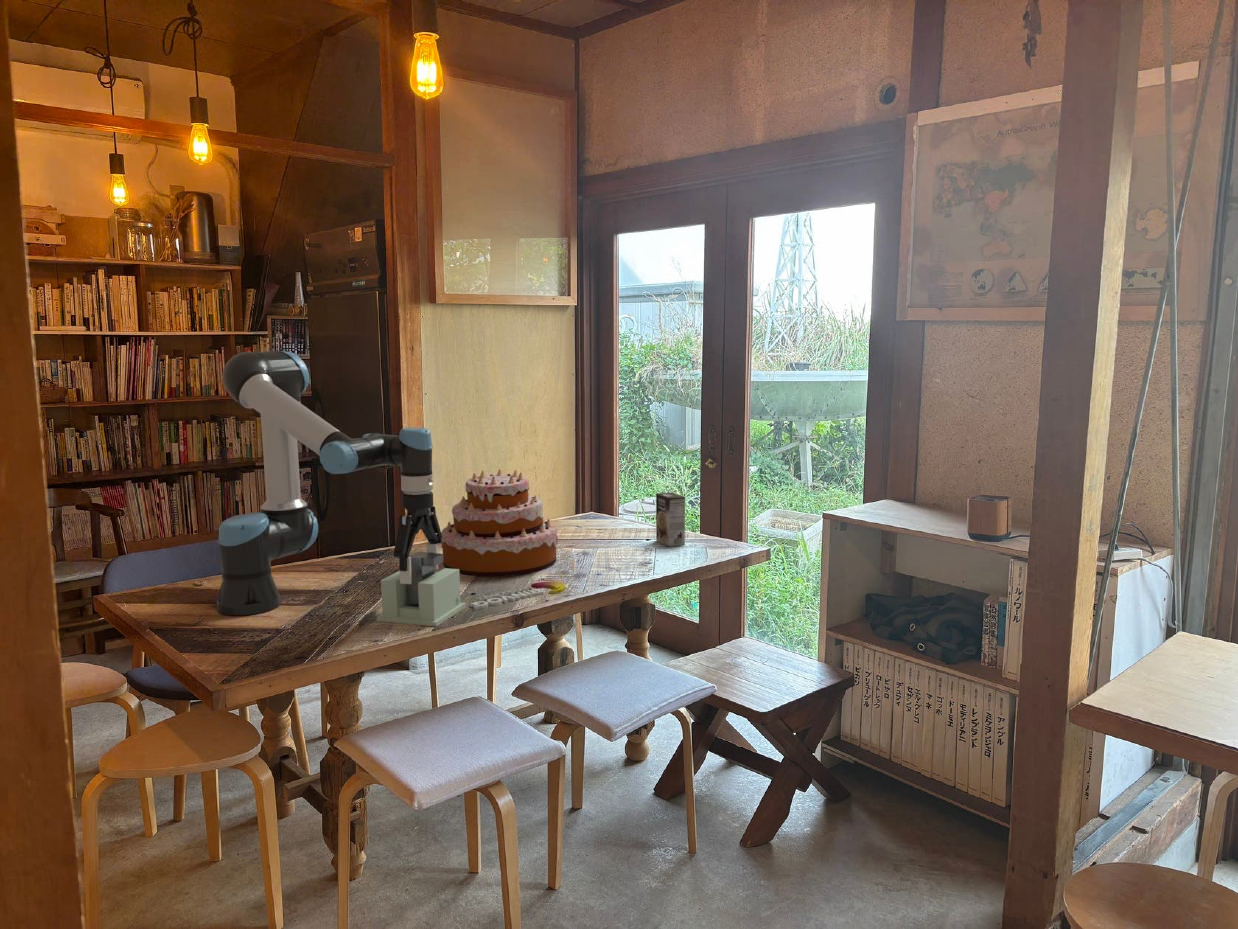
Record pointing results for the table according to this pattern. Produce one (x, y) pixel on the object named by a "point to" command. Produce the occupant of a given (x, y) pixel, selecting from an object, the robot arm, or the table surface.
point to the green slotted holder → (422, 599)
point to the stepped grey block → (421, 572)
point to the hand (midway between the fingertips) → (419, 576)
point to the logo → (517, 594)
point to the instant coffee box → (670, 519)
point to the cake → (498, 529)
